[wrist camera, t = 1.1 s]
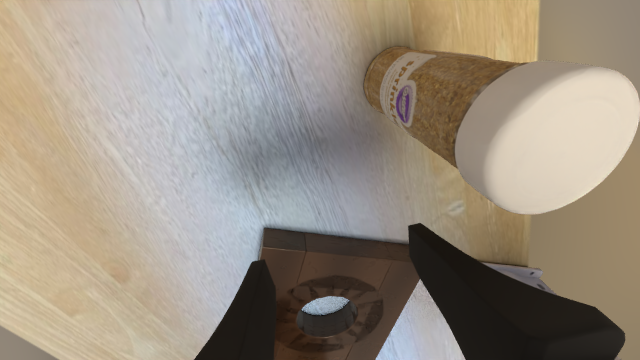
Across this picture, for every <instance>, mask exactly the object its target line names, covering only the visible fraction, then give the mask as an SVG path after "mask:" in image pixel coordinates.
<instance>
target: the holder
mask: <svg viewBox="0 0 640 360" xmlns="http://www.w3.org/2000/svg"><path fill="white" fill-rule="evenodd" d="M262 259H265V261H266V264H267V267H268V269H269V272H270V274H271V277H272V280H273V282H274V285H275V287H276V304H277V312H276V330H275V346H274V360H375V359H376V357H377V355H378V354H379V352H380V350H381V348H382V346H383V345H384V343H385V341H386V339H387V337H388V336H389V334H390V332H391V330H392V328H393V326H394V325H395V323H396V321H397V319H398V317H399V316H400V314H401V312H402V310H403V308H404V306H405V305H406V303H407V301H408V299H409V297H410V296H411V294H412V292H413V290H414V288H415V287H416V285H417V283H418V281H419V279H420V277H419V276H418V274H417V272H416V270H415V267H414V265H413V263H412V261H411V259H410V256H409V245H406V244H397V243H389V242H380V241H372V240H363V239H355V238H346V237H338V236H329V235H321V234H312V233H303V232H295V231H286V230H278V229H269V228H264V231H263V236H262V241H261V246H260V251H259V257H258V260H262ZM327 296H337V297H344V298H346V299H349V300H350V301H349V303H348V304H347V305H346V306H345V307H344V308H343V309H341V310H339V311H337V312H335V313H333V314H329V315H324V316H313V315H310V314H307V313H304V312H302V311H301V309H302V308H303V307H304V306H305V305H306V304H307V303H309V302H311V301H313V300H315V299H317V298H322V297H327Z"/></svg>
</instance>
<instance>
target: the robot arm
mask: <svg viewBox="0 0 640 360" xmlns="http://www.w3.org/2000/svg"><path fill="white" fill-rule="evenodd" d="M408 231H409V256H410V259H411V261H412V263H413V265H414V267H415V270H416V272H417V274H418V276H419V277H420V279H421V281H422V282H423V284H424V285H425V287H426V289H427V290H428V292H429V294H430V295H431V297H432V298H433V300H434V302H435V303H436V305H437V306H438V308H439V310H440V311H441V313H442V314H443V316H444V318H445V320H446V321H447V323H448V325H449V327H450V329H451V331H452V333H453V335H454V337H455V339H456V341H457V343H458V345H459V347H460V349H461V351H462V353H463V355H464V357H465V359H466V360H621V359H620V358H619V357H617V355H618V353H619V352H620V350H621V348H622V347H623V345H624V342H625V333H624V332H623V331H622V330H621V329H620V328H619V327H618V326H617V325H616V324H615V323H613V322H612V321H611V320H610V319H609V318H608V317H607V316H605V315H604V314H603V313H602V312H600V311H599V310H598V309H597V308H596V307H593V306H590V305H587V304H583V303H580V302H577V301H573V300H570V299H567V298H564V297H561V296H558V295H556V294H555V293H554V292H553V291H552V290H551V289H550V288H549V287H548V286H547V285H546V284H545V283H544V282H543V281H541V280H540V279H539V278H540V277H541V275H542V274H543V271H542V270H540V269H538V268H528V267H519V266H510V265H501V264H492V263H483V262H479V261H477V260H476V259H474V258H472V257H471V256H469V255H467V254H465V253H464V252H462V251H461V250H459V249H458V248H456V247H454V246H453V245H451V244H450V243H448V242H447V241H445V240H444V239H443V238H441V237H440V236H438V235H437V234H435V233H434V232H433V231H431V230H430V229H428V228H427V227H425V226H424V225H423V224H421V223H418V224H414V225H409V226H408ZM276 312H277V304H276V287H275V285H274V282H273V280H272V277H271V274H270V272H269V269H268V267H267V264H266V261H265V259H262V260H258V261H254V262H252V263H251V265H250V267H249V269H248V271H247V273H246V276H245V278H244V280H243V282H242V284H241V286H240V288H239V290H238V292H237V294H236V296H235V298H234V300H233V301H232V303H231V305H230V307H229V309H228V310H227V312H226V314H225V315H224V317H223V319H222V320H221V322H220V324H219V325H218V327H217V328H216V330H215V331H214V333H213V334H212V336H211V337H210V339H209V340H208V342H207V343H206V344H205V346H204V347H203V348H202V350H201V351H200V352H199V354H198V355H197V356H196V358H195V359H194V360H274V346H275V330H276Z"/></svg>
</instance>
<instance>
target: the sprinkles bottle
mask: <svg viewBox="0 0 640 360" xmlns="http://www.w3.org/2000/svg"><path fill="white" fill-rule="evenodd" d="M364 90H365V94H366V97H367V99H368V101H369V103H370V104H371V105H372V107H373V108H374V109H376V110H378V111H379V112H381V113H384V114H385V115H386V116H387V117H388V118H389V119H390V120H391V121H392V122H394V123H395V124H396V125H398V126H399V127H400V128H402V129H403V130H404V131H405V132H407V133H408V134H409V135H411V136H412V137H414V138H416V139H418V140H419V141H420V142H422V143H423V144H424V145H426V146H427V147H428V148H429V149H431V150H432V151H433V152H435V153H437V154H438V155H440V156H441V157H442V158H444V159H445V160H446V161H448V162H449V163H450V164H451V165H453V166H454V167H456V168H457V169H458V170H459V172H460V174H461V176H462V177H463V179H464V180H465V181H466V182H467V183H468V184H470V185H471V186H472V187H473V188H475V189H476V190H477V191H478V192H480V193H481V194H482V195H484V196H485V197H486V198H488V199H489V200H490V201H492V202H493V203H494V204H496V205H497V206H499V207H501V208H502V209H505V210H507V211H509V212H513V213H517V214H540V213H545V212H549V211H552V210H556V209H559V208H561V207H564V206H566V205H568V204H570V203H572V202H574V201H576V200H577V199H579V198H581V197H582V196H583V195H585V194H587V193H588V192H589V191H591V190H592V189H593V188H595V187H596V186H597V185H598V184H599V183H601V182H602V181H603V180H604V179H605V178H606V177H607V176H608V175H609V174H610V173H611V172H612V171H613V169H614V168H615V167H616V166H617V165H618V163H619V162H620V161H621V159H622V158H623V156H624V155H625V153H626V151H627V150H628V148H629V146H630V144H631V142H632V140H633V138H634V135H635V133H636V130H637V127H638V123H639V118H640V102H639V97H638V94H637V91H636V89H635V87H634V86H633V84H632V83H631V82H630V81H629V80H628V79H627V78H626V77H625V76H624V75H623V74H621V73H619V72H617V71H615V70H612V69H609V68H605V67H599V66H593V65H586V64H578V63H570V62H561V61H550V60H545V61H536V62H531V63H514V62H508V61H500V60H493V59H490V58H488V57H484V56H478V55H470V54H461V53H452V52H441V51H432V50H424V51H417V50H412V49H410V48H408V47H399V46H397V47H392V48H389V49H387V50H385V51H383V52H382V53H381V54H379V55H378V56H377V57H376V58H375V59H374V60H373V62H372V63H371V64H370V66H369V68H368V70H367V74H366V77H365V81H364Z"/></svg>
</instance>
